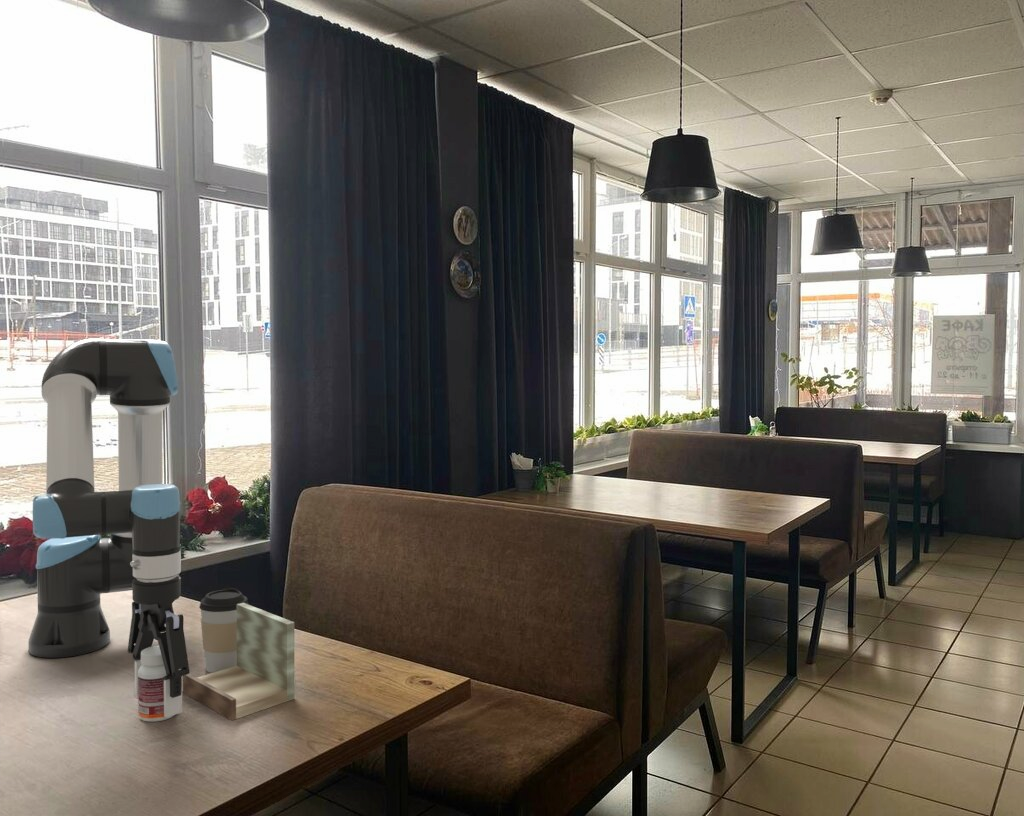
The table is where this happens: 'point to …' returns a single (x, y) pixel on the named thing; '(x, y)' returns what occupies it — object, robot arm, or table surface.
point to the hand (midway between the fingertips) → (157, 704)
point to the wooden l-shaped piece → (251, 667)
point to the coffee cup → (220, 628)
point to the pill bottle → (151, 685)
